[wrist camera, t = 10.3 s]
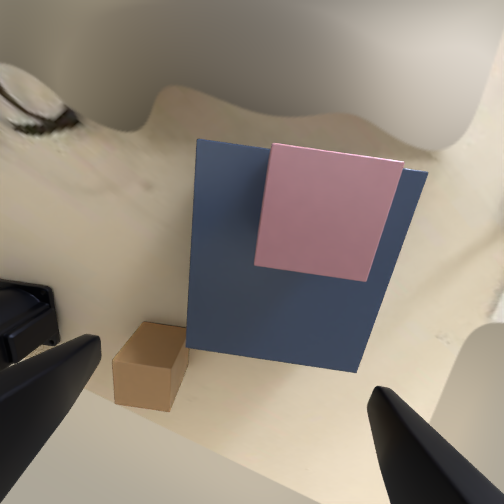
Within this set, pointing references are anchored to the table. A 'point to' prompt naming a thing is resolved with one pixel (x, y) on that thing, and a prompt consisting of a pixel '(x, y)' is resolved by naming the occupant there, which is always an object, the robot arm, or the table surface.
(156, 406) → the kraft box
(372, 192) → the rose box
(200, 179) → the blue piece
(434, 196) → the table surface
